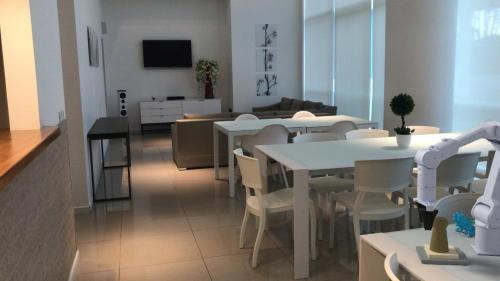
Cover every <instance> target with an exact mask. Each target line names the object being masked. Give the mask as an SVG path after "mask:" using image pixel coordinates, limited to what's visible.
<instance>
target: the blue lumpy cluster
mask: <svg viewBox="0 0 500 281" xmlns="http://www.w3.org/2000/svg"><path fill="white" fill-rule="evenodd" d="M465 216H466V213H464V212H462V213H461V211H457V212H456V213H454V214H453V219H452V221H454V222H455V223H454V226H455V227H456V228H455V229H454V231H455V232H456V231H457V232H458V231H460V232H461V233H462V232H463V231H464V232H463V233H464V235H465V236H468V235H469V236H470V237H473V236H474V235H475V228H476V223H475V219H474V220H472V221H471V219H472V218H471V216H467V217H465Z"/></svg>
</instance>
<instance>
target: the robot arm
mask: <svg viewBox="0 0 500 281" xmlns="http://www.w3.org/2000/svg"><path fill="white" fill-rule="evenodd" d="M481 139H485V140H487V141H488V143H489V142H490V144H491V145H492V146H493V148H494V150H495V153H494V156H493V159H492V163H491V166H490V170H489V174H488V177H487V181H486V185H485V188H484V192H483V194H482V195H481V196H479V197H478V198H477V199H476V202H475V204H474V205H473V206H472V209H471V212H470V213H471V216H472V218H473V219H474V220H475V227H476V228H475V234H474V235H475V236H474V244H471V245H470V247H471V249H473V250H474V252H475V253H476V255H490V256H491V255H492V256H500V121H497V120H493V119H486V120H483V121H481V122H478V123H477V124H476V125H475V126H474V127H472V128H470V129H468V130H467V131H465V132H463V133H462V134H460V135H458V136H456V137H455V138H451V137H443V138H441V140H440V141H439V142H437V143H434V144H430V145H428V147H427V148H421V149H419V150H418V151H417V152H416V154H415V156H414V157H413V159H414V163H416V165H417V183H416V184H417V186H416V188H417V189H416V190H417V192H416V194H417V195H416V197H413V202H414V203H415V206H416V207H417V211H418V218H419V222H420V223H421V224H423V228H424V231H432V230H433V223H434V220H435V217H437V216H438V213H439V210H438V209H435V204H436V203H437V168H438V167H439V165H440V164H441V162H443V161H445V160H446V159H448V158H451V157H453V156H454V155H457V154H458V153H459V149H460V148H462V147H466V146H467V145H470V144H472V143H474V142H477V141H479V140H481Z"/></svg>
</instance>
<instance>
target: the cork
mask: <svg viewBox="0 0 500 281" xmlns="http://www.w3.org/2000/svg"><path fill="white" fill-rule="evenodd" d="M448 226H449V220H448V219H447V218H446V217H443V216H436V217H435V220H434V223H433V227H432V230H431V237H430V243H429V245H430V248H429V249H430V250H431V251H432V252H436V253H447V252H449V247H448V245H449V240H448V232H447V228H448Z"/></svg>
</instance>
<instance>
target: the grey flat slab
mask: <svg viewBox="0 0 500 281" xmlns="http://www.w3.org/2000/svg"><path fill="white" fill-rule="evenodd" d="M448 247H449V252H447V253H436V252H432V251H431V250H430V249H429V248H430V244H424V245H423V246H421V245H420V246H419V245H416V246H415V251H416V253H417V256H418V258H419V260H420V263H421V264H429V265H430V264H431V265H454V266H457V265H458V266H469V260H468V259H467V257H466V256H465V254H464V253H463V252H462V250H461V248H460V247H454V246H453V244H448Z"/></svg>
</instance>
